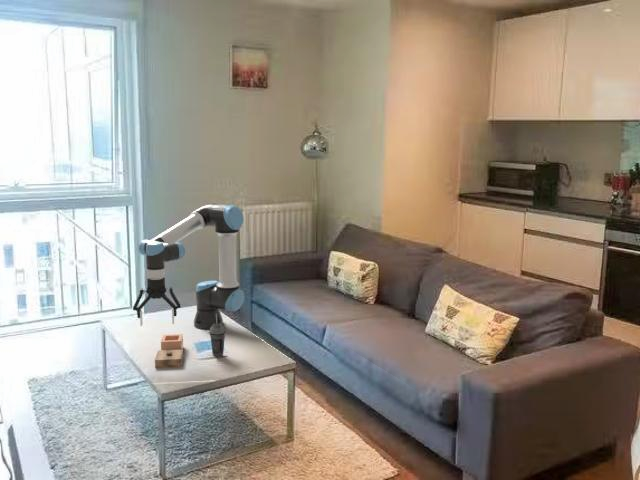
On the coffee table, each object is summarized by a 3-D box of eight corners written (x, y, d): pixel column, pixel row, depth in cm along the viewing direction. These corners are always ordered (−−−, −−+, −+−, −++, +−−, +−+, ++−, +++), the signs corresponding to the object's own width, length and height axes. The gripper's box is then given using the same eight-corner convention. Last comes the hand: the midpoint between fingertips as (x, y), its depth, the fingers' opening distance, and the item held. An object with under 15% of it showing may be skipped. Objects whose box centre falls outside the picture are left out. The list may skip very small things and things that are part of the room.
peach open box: (183, 348, 278) (182, 334, 277) (181, 355, 269) (181, 341, 268) (163, 349, 277) (163, 334, 275) (161, 356, 268) (160, 341, 267)
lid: (183, 356, 266) (183, 347, 266) (181, 366, 256) (180, 357, 255) (158, 357, 265) (157, 348, 264) (155, 367, 254) (154, 358, 253)
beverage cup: (212, 360, 264) (211, 317, 261) (207, 354, 271) (206, 313, 267) (228, 357, 268) (227, 315, 264) (223, 351, 274) (222, 310, 270)
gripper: (185, 274, 264) (186, 319, 268) (126, 276, 258) (128, 322, 262) (185, 278, 256) (186, 325, 260) (125, 280, 251) (127, 328, 254)
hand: (157, 324), depth 261 cm, fingers open, 13 cm apart
